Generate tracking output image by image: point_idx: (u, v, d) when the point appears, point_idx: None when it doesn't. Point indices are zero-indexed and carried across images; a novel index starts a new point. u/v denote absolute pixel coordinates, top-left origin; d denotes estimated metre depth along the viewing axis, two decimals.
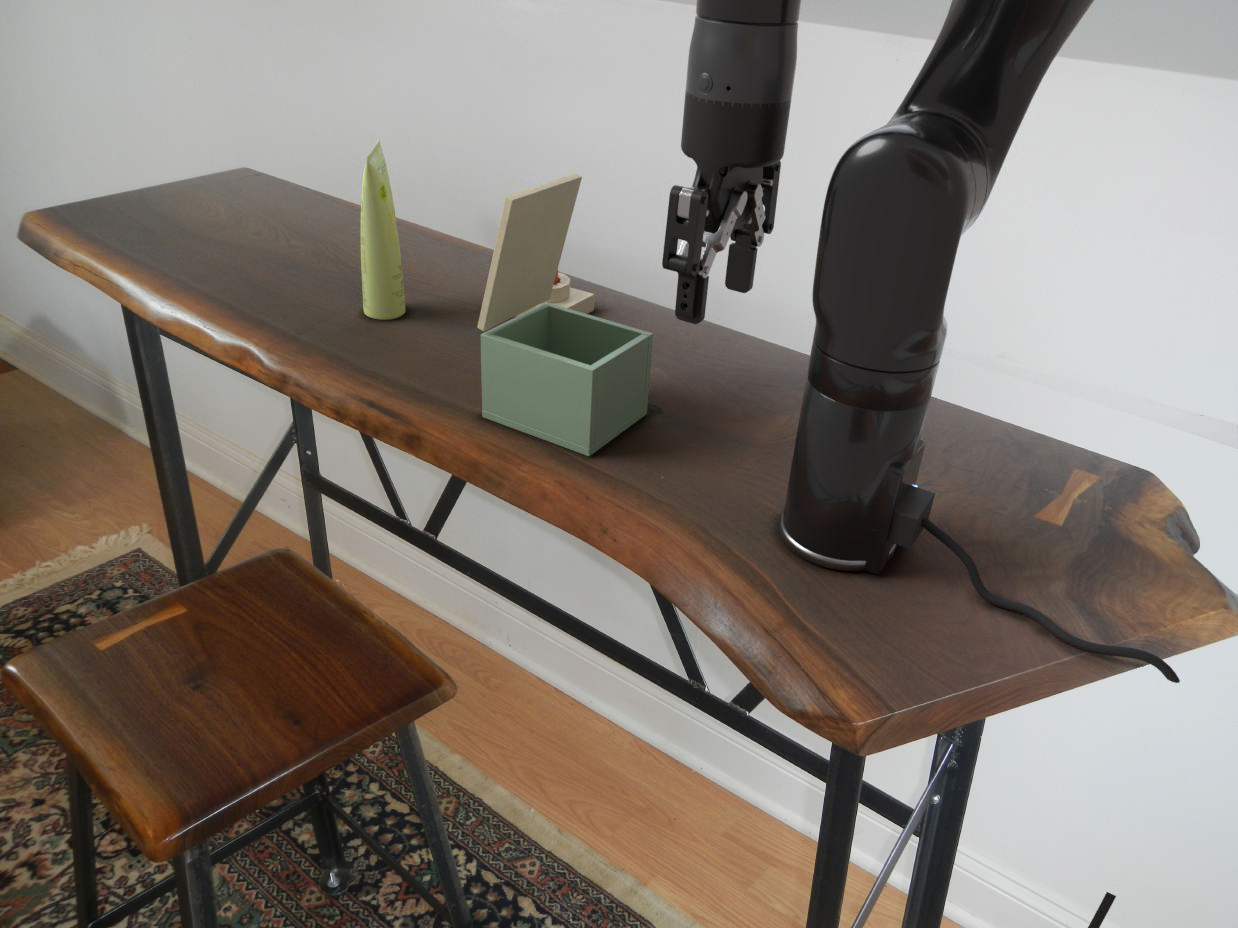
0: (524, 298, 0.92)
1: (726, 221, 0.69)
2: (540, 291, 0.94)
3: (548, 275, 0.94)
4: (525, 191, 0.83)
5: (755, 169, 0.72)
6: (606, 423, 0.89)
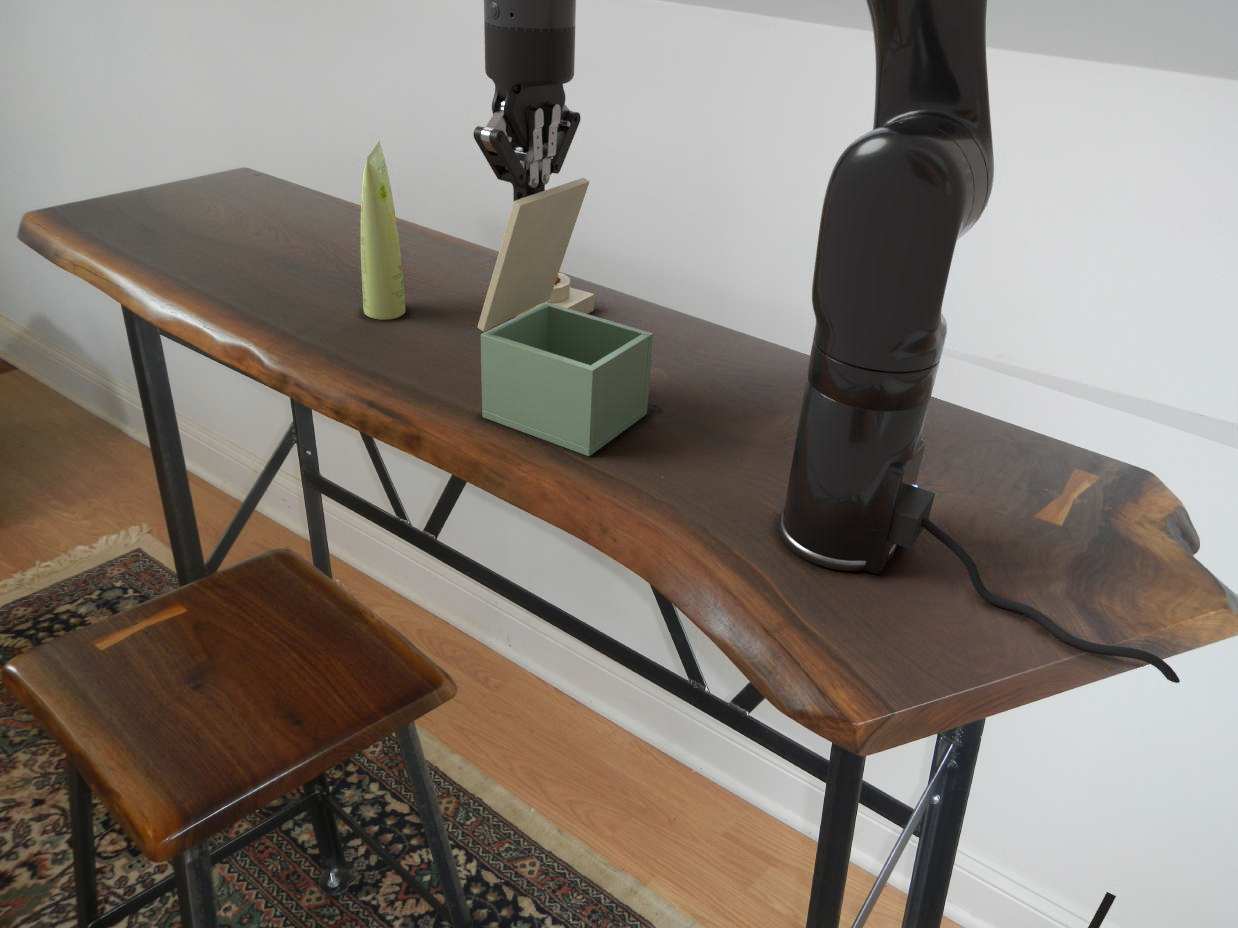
0: (525, 299, 0.92)
1: (532, 141, 0.81)
2: (541, 292, 0.94)
3: (550, 277, 0.94)
4: (533, 196, 0.83)
5: (559, 85, 0.83)
6: (606, 423, 0.89)
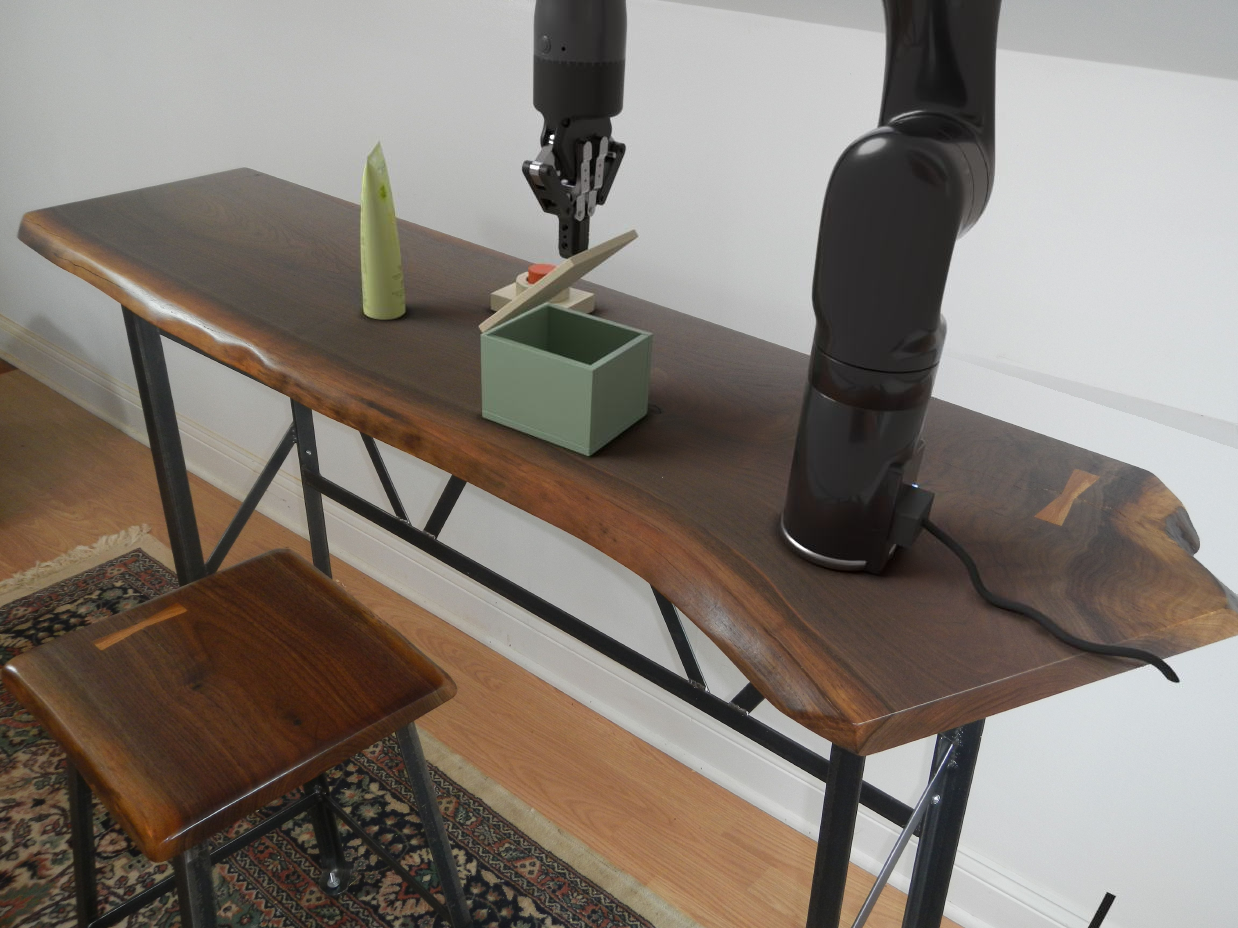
0: (530, 307, 0.92)
1: (580, 174, 0.80)
2: (546, 300, 0.94)
3: (560, 290, 0.94)
4: (587, 252, 0.82)
5: (607, 117, 0.82)
6: (606, 423, 0.89)
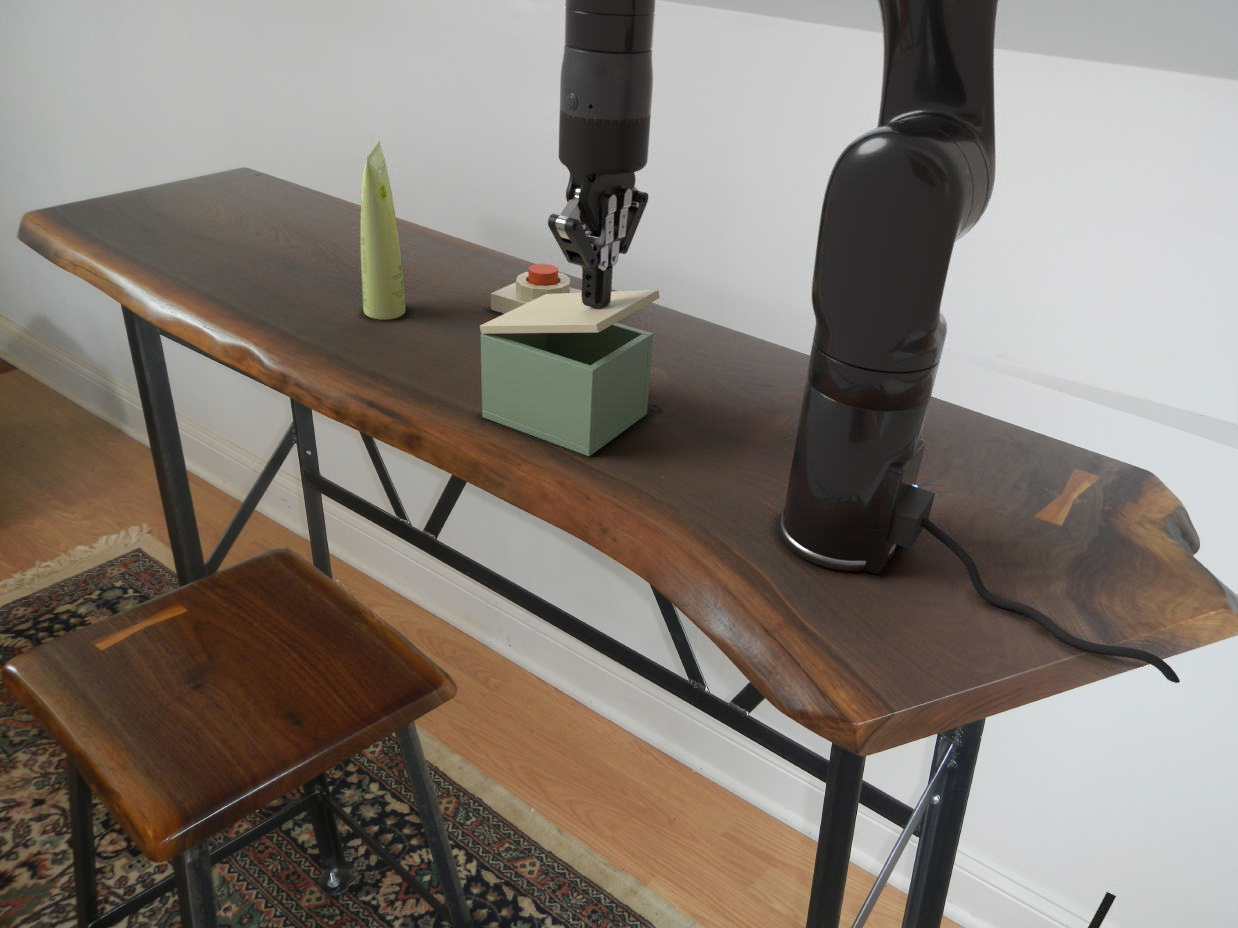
0: None
1: (604, 226, 0.81)
2: None
3: None
4: (613, 317, 0.83)
5: None
6: (606, 423, 0.89)
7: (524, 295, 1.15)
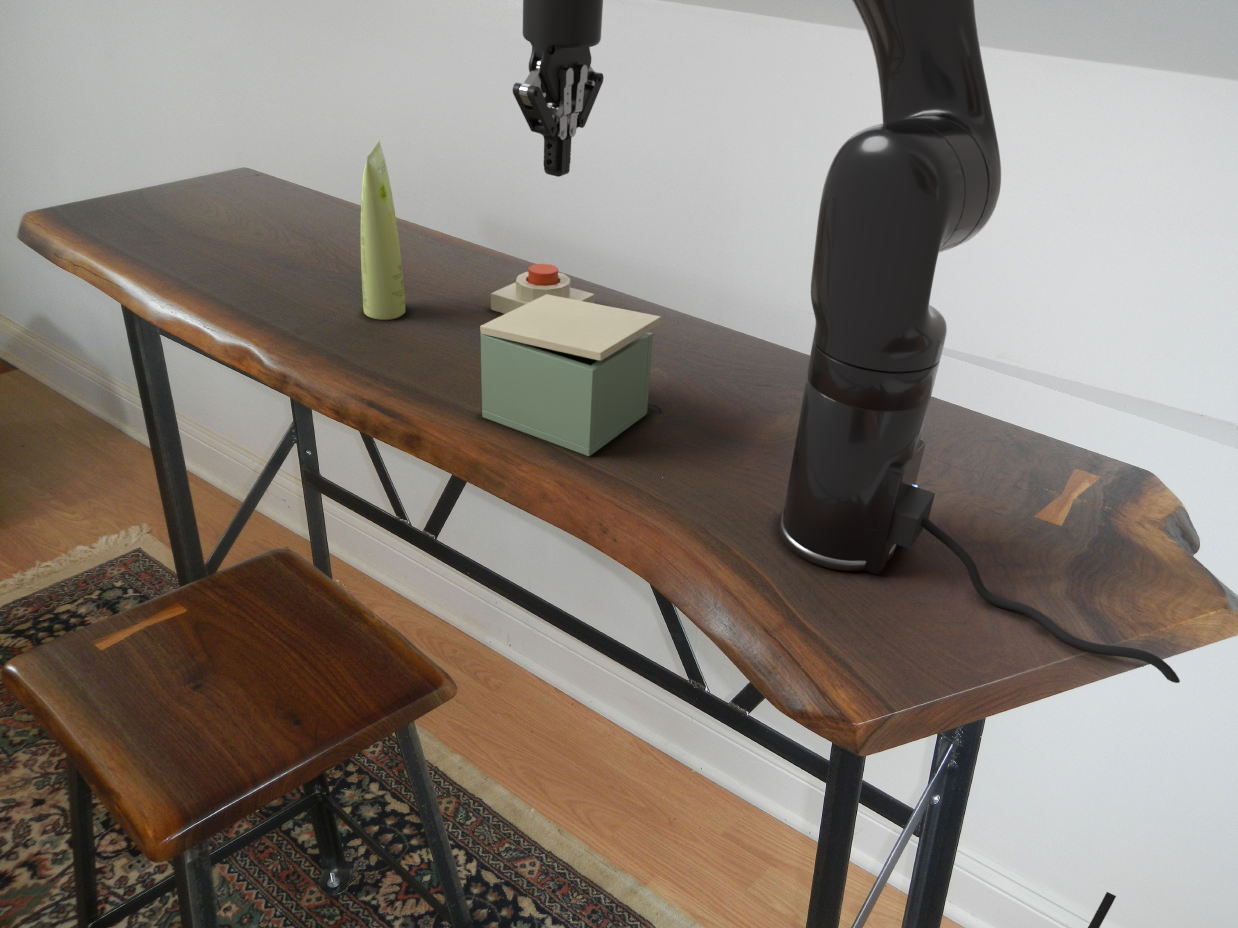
0: None
1: (563, 97, 0.92)
2: None
3: None
4: (616, 345, 0.84)
5: (587, 48, 0.94)
6: (606, 423, 0.89)
7: (524, 295, 1.15)
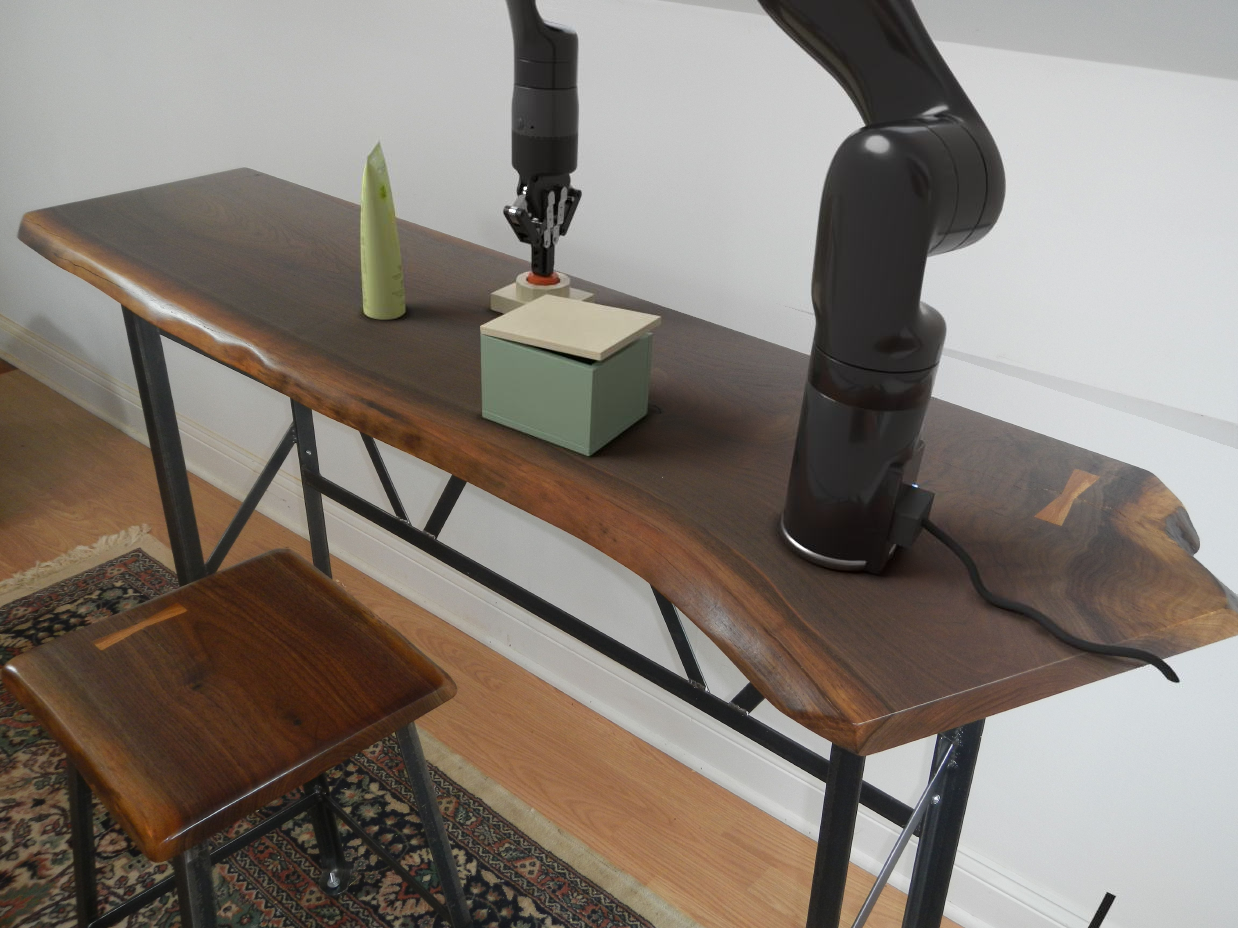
0: None
1: (546, 215, 1.10)
2: None
3: None
4: (616, 345, 0.84)
5: None
6: (606, 423, 0.89)
7: (524, 295, 1.15)
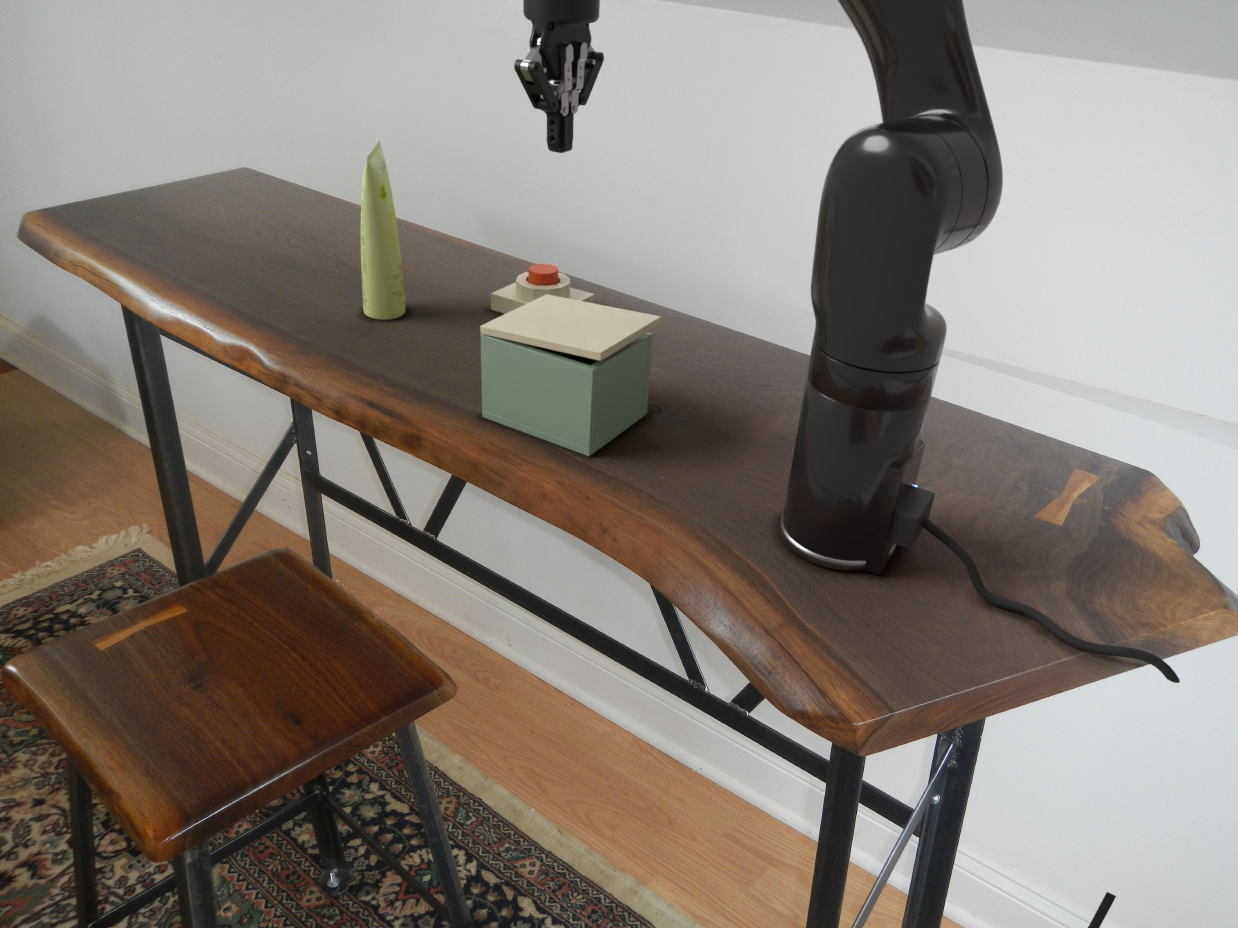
0: None
1: (563, 73, 0.95)
2: None
3: None
4: (616, 345, 0.84)
5: (586, 27, 0.97)
6: (606, 423, 0.89)
7: (524, 295, 1.15)
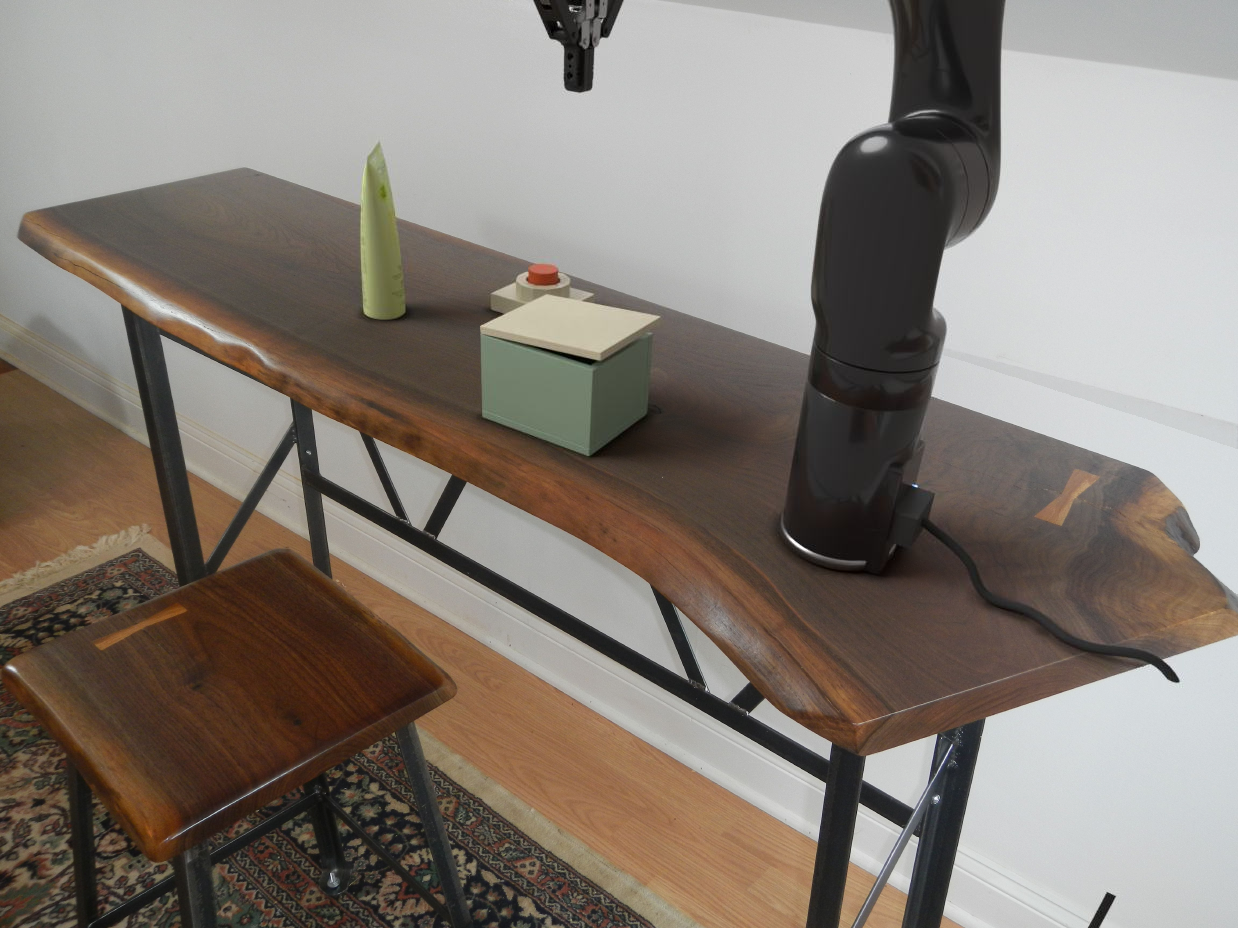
0: None
1: None
2: None
3: None
4: (616, 345, 0.84)
5: None
6: (606, 423, 0.89)
7: (524, 295, 1.15)
